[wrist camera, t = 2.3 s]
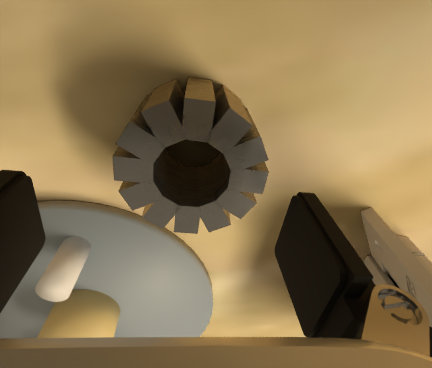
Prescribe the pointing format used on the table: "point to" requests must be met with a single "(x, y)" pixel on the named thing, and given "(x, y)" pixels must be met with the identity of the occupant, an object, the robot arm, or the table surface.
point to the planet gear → (185, 175)
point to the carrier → (108, 279)
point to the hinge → (397, 261)
